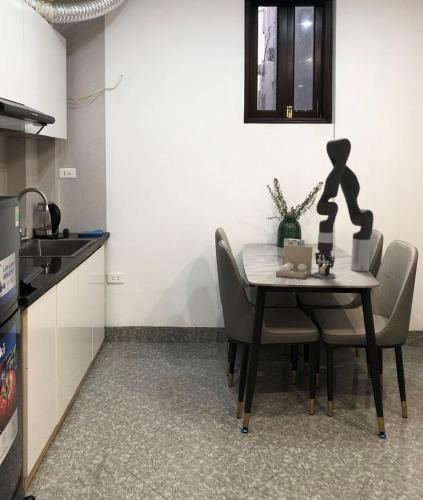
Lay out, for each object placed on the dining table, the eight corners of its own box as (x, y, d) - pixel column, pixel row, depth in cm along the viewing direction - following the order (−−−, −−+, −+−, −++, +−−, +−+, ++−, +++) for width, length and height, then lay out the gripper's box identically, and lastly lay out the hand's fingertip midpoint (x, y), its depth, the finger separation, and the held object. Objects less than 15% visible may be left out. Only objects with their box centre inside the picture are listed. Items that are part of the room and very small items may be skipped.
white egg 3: (298, 271, 253) (298, 262, 252) (307, 272, 251) (308, 263, 250) (296, 273, 248) (296, 263, 247) (305, 274, 246) (306, 264, 245)
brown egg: (319, 273, 247) (320, 264, 246) (329, 274, 245) (330, 265, 244) (317, 275, 242) (318, 265, 242) (328, 276, 240) (328, 266, 240)
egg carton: (283, 270, 258) (284, 245, 256) (311, 273, 252) (312, 247, 250) (276, 276, 244) (276, 248, 242) (304, 278, 238) (306, 251, 236)
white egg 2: (285, 270, 255) (285, 261, 255) (294, 271, 253) (295, 262, 253) (283, 272, 251) (283, 262, 250) (292, 273, 249) (292, 263, 248)
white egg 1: (282, 272, 249) (282, 263, 248) (291, 273, 247) (291, 264, 246) (279, 274, 245) (279, 265, 244) (289, 275, 243) (289, 265, 242)
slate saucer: (315, 273, 251) (315, 271, 251) (336, 275, 247) (336, 273, 246) (310, 277, 241) (310, 275, 241) (333, 279, 237) (333, 277, 236)
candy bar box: (303, 269, 262) (305, 240, 259) (297, 270, 259) (299, 240, 256) (288, 266, 270) (289, 237, 268) (282, 267, 267) (283, 238, 265)
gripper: (311, 239, 246) (309, 272, 249) (327, 243, 233) (326, 277, 236) (323, 239, 249) (321, 271, 251) (340, 242, 236) (338, 276, 238)
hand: (323, 274), depth 244 cm, fingers closed on brown egg, 5 cm apart
